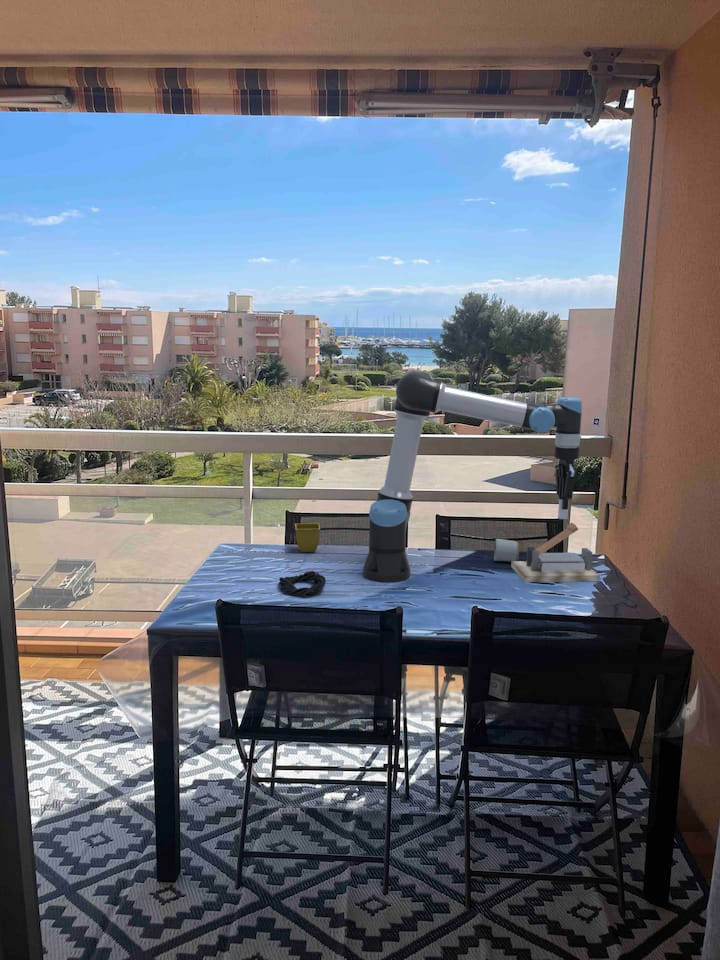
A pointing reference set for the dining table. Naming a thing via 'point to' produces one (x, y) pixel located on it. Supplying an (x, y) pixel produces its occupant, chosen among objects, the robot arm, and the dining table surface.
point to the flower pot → (307, 536)
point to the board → (552, 574)
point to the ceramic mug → (506, 550)
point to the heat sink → (559, 561)
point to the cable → (308, 576)
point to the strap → (557, 538)
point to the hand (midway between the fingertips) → (562, 518)
